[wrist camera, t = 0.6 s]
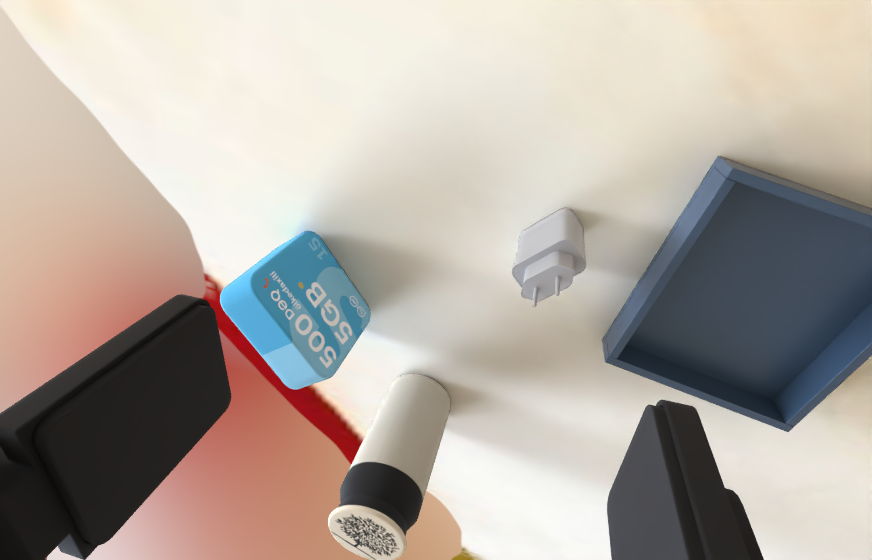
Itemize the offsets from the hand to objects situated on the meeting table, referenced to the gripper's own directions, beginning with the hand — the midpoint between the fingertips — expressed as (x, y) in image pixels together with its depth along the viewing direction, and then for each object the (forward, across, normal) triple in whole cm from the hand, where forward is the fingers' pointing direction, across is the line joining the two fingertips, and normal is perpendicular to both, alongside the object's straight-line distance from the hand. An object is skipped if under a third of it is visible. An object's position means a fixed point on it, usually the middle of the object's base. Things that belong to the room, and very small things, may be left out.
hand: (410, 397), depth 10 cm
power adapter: (+33, -4, +9) cm, 35 cm away
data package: (+34, +18, +19) cm, 42 cm away
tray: (+33, -22, +12) cm, 41 cm away
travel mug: (+34, +7, +33) cm, 48 cm away
